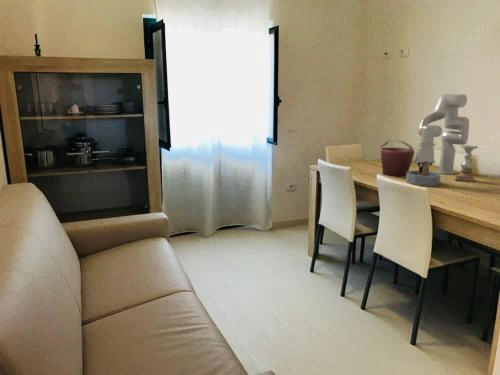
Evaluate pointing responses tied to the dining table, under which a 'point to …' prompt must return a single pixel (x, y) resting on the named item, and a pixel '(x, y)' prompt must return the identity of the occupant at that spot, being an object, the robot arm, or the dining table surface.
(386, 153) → the bucket
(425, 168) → the brown rectangular block
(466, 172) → the candle holder
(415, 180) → the grey bowl
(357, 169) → the dining table surface
